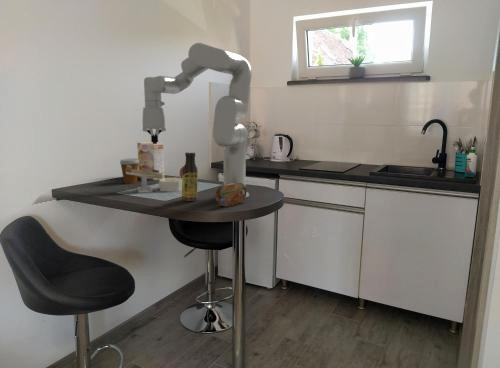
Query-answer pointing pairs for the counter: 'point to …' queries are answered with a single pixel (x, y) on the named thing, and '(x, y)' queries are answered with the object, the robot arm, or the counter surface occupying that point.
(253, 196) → the counter surface
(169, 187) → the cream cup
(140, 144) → the coffeecake box
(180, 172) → the onion
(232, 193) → the sandwich
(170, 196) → the counter surface
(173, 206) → the counter surface
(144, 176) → the lever stand
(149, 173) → the birch lever
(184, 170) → the sauce bottle
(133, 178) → the brown food tub
